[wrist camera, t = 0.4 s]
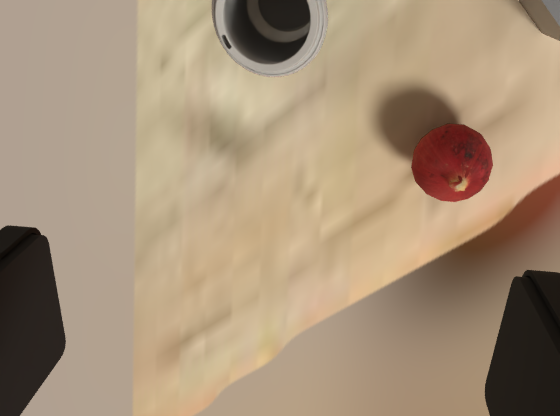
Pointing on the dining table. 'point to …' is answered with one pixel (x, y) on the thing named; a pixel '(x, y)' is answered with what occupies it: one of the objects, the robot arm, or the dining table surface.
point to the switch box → (545, 15)
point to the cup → (271, 33)
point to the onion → (452, 162)
